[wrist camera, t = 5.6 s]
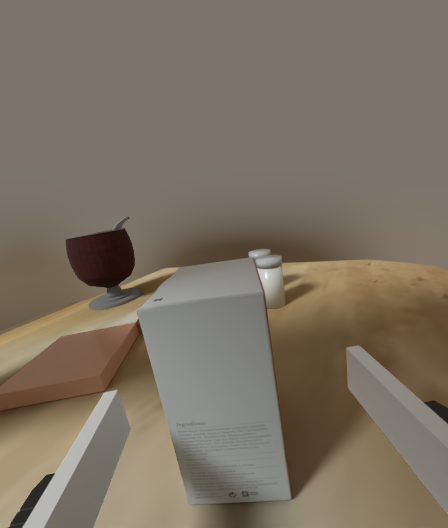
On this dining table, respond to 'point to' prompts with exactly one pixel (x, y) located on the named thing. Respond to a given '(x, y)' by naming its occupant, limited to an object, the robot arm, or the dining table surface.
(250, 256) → the pepper shaker
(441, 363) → the dining table surface
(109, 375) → the terracotta coaster
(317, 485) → the dining table surface
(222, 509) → the dining table surface
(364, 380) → the robot arm
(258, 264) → the salt shaker
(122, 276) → the mate gourd
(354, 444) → the dining table surface
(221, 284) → the small box
